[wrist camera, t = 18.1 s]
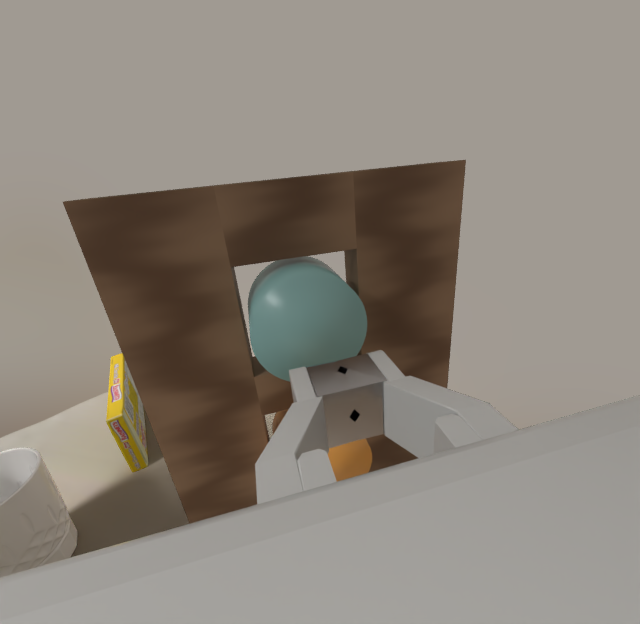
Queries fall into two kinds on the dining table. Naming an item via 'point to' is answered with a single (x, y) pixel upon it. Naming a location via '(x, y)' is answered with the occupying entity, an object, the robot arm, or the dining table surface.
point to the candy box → (126, 415)
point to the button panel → (226, 309)
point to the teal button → (303, 316)
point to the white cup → (31, 514)
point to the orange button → (343, 455)
